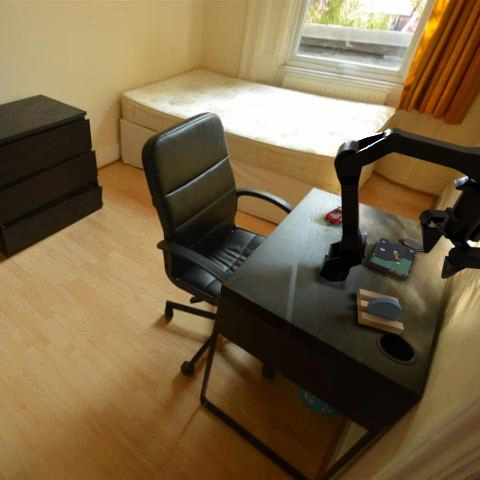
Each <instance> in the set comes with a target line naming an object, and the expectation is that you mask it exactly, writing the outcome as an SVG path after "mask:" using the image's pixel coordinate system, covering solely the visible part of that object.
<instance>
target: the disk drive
mask: <svg viewBox="0 0 480 480" xmlns="http://www.w3.org/2000/svg"><path fill="white" fill-rule="evenodd" d="M417 254H418V251H417V250H414V249H411V248H409V247H407V246H406V245H403V244H400V243H397V242H391V241H390V239H387V238H384V237H380V238H379V240H378V242H377V243H376V246H375V248H374V251H373V252H372V255H371V256H370V258H369V260H368V262H367V264H366V268H371V269H375V270H378V271H380V272H383V273H385V274H387V275H390V276H392V277H394V278H396V279H399V280H402V281H404V282H406V281H407V280H408V278H409V276H410V274H411V271H412V268H413V264H414V262H415V260H416V257H417Z"/></svg>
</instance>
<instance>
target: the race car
mask: <svg viewBox="0 0 480 480" xmlns="http://www.w3.org/2000/svg"><path fill="white" fill-rule="evenodd" d="M324 220H325V221H326V222H328V223H330V224H331V225H333V226H334V225H336V226H340V225H342V207H341V206H339V205H338V206H337V207H336V208H334V209H333V210H330V211H329V212H327V214H325V217H324Z"/></svg>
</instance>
